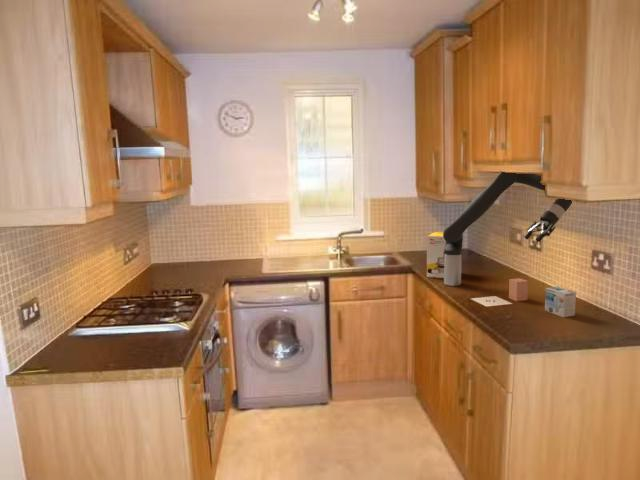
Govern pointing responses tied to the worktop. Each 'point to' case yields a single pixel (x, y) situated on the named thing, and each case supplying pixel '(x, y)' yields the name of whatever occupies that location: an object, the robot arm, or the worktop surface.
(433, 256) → the packaging box
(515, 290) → the terracotta block
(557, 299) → the light bulb box
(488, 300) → the cream square pad
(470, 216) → the robot arm
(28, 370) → the worktop surface
